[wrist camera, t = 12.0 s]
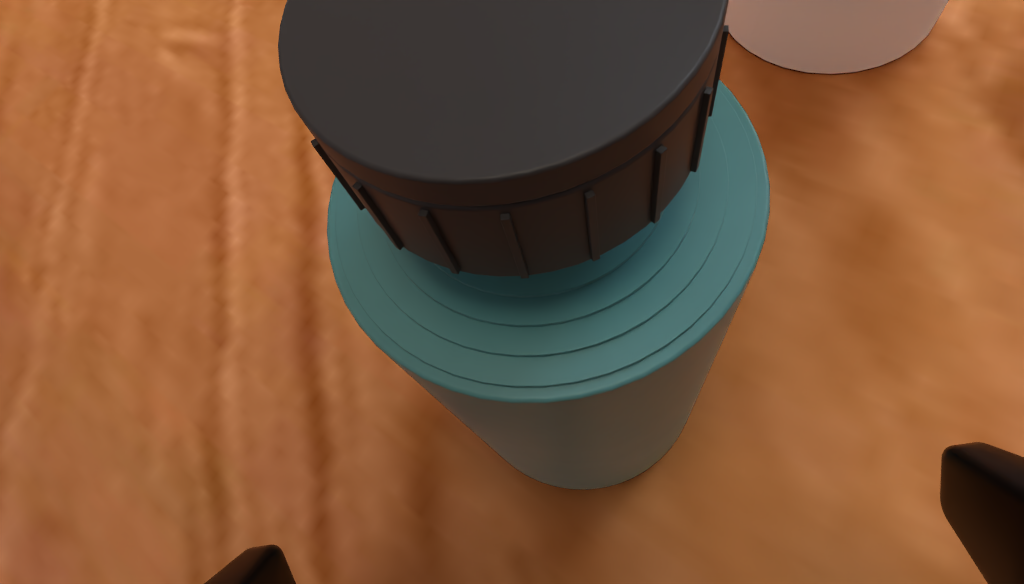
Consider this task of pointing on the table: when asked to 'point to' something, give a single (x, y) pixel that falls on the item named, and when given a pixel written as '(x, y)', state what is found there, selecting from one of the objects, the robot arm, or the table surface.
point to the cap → (506, 118)
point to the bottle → (574, 321)
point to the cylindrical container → (831, 31)
